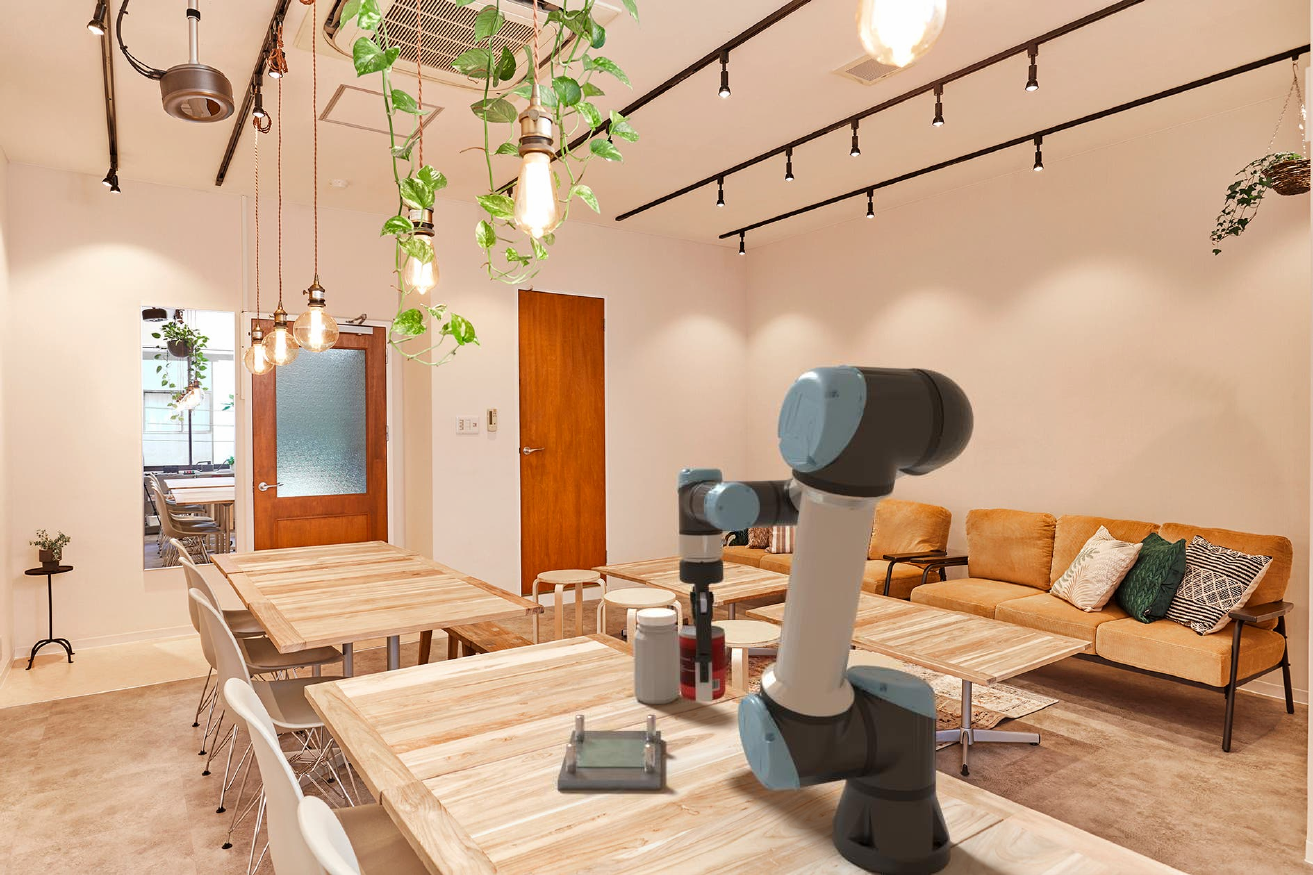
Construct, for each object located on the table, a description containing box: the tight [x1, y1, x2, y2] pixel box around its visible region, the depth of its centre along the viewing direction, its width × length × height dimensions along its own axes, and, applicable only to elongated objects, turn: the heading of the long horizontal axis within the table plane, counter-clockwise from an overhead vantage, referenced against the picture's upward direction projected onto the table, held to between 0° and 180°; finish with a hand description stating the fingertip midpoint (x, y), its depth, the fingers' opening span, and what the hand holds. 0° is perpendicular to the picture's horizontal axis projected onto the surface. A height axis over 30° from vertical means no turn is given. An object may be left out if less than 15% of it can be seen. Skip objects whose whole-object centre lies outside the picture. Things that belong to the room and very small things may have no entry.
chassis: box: [557, 714, 662, 791], centre depth 130 cm, size 20×16×6 cm
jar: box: [633, 607, 681, 705], centre depth 162 cm, size 10×10×18 cm
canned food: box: [678, 624, 726, 702], centre depth 132 cm, size 8×8×11 cm
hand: (702, 692), depth 131 cm, fingers closed on canned food, 8 cm apart
